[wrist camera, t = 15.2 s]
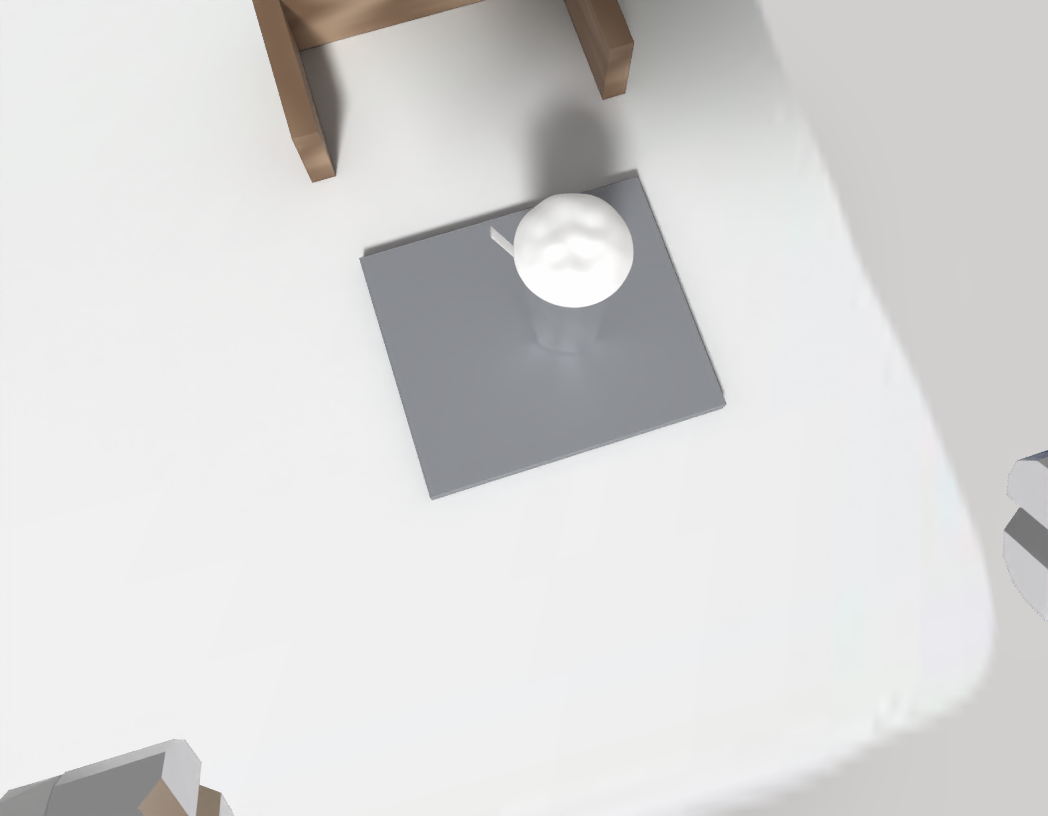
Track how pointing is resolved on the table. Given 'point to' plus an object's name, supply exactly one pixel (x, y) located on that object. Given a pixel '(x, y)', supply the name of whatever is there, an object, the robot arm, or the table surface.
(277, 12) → the walnut cubby
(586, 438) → the grey pad
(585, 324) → the milkshake
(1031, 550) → the robot arm
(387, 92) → the table surface
